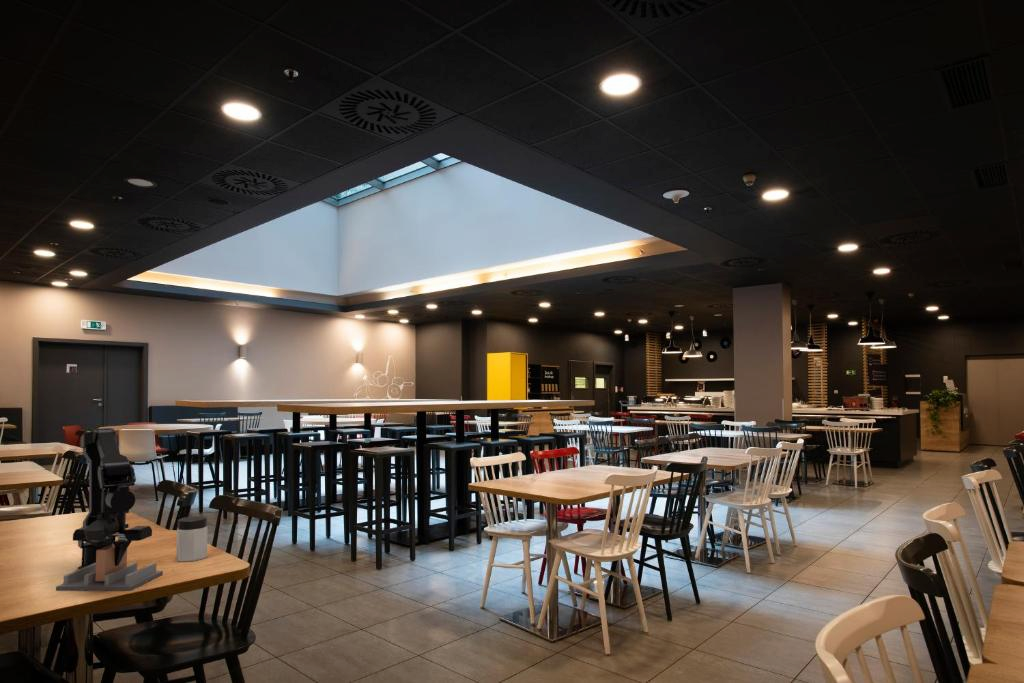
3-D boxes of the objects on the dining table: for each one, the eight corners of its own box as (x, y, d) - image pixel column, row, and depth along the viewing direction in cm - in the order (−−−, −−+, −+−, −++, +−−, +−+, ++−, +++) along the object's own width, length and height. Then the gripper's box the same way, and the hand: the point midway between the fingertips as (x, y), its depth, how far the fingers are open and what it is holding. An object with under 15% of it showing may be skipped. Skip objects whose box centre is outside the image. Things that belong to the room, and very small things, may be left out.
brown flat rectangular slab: (95, 581, 167) (96, 550, 167) (117, 571, 176) (118, 541, 176) (104, 581, 167) (105, 550, 167) (126, 571, 176) (127, 541, 176)
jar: (194, 553, 201) (195, 514, 202) (213, 555, 197) (214, 516, 198) (169, 560, 193) (170, 520, 193) (187, 563, 189) (189, 522, 190)
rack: (55, 590, 165) (56, 576, 165) (93, 574, 179) (93, 561, 179) (131, 590, 164) (131, 576, 164) (162, 574, 178) (162, 561, 178)
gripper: (58, 513, 165) (55, 574, 164) (128, 513, 164) (126, 574, 163) (88, 505, 176) (86, 562, 175) (154, 505, 175) (152, 562, 174)
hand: (111, 565), depth 172 cm, fingers closed on brown flat rectangular slab, 2 cm apart
